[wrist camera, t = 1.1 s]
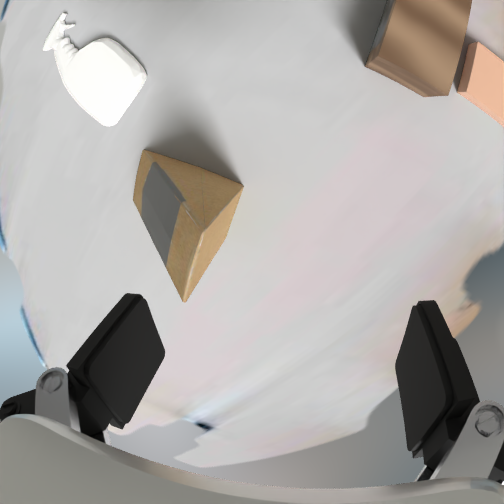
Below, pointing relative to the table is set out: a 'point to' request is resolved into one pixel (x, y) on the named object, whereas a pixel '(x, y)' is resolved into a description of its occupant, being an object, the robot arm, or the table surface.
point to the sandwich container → (184, 214)
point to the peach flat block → (483, 81)
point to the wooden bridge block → (420, 43)
